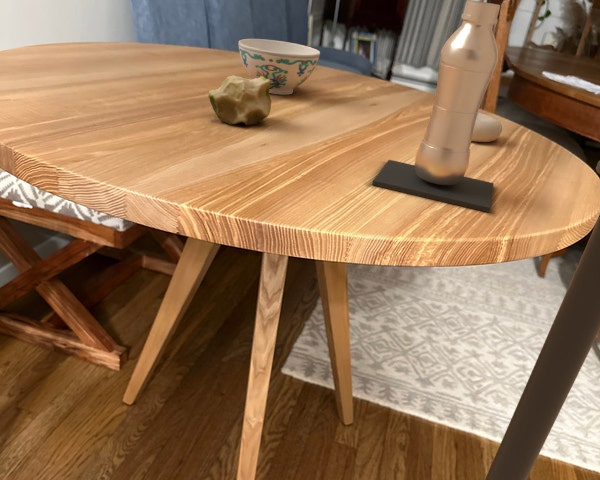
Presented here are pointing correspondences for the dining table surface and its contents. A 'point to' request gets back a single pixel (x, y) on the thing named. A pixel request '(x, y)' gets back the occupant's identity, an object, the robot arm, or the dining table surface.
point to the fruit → (242, 100)
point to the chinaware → (278, 62)
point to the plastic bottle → (459, 95)
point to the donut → (486, 128)
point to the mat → (435, 187)
